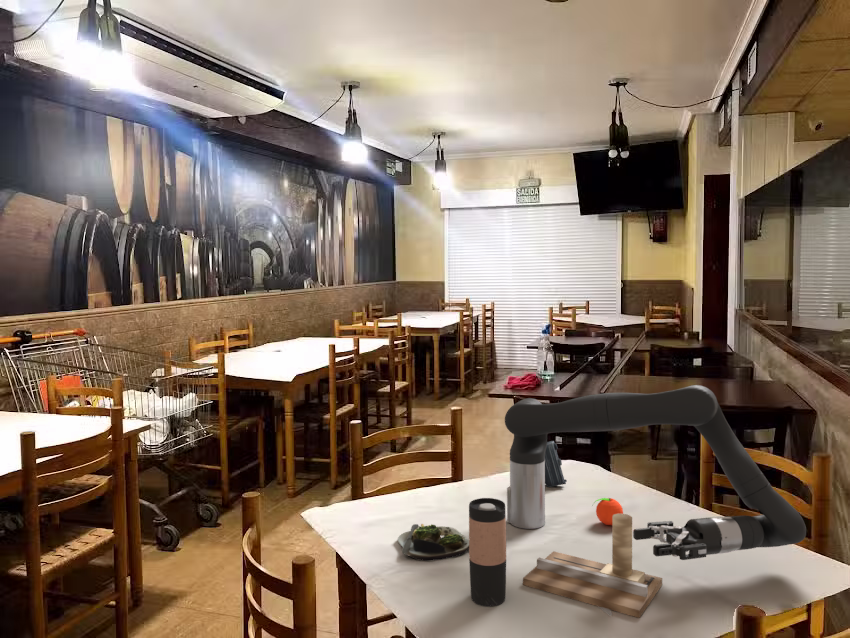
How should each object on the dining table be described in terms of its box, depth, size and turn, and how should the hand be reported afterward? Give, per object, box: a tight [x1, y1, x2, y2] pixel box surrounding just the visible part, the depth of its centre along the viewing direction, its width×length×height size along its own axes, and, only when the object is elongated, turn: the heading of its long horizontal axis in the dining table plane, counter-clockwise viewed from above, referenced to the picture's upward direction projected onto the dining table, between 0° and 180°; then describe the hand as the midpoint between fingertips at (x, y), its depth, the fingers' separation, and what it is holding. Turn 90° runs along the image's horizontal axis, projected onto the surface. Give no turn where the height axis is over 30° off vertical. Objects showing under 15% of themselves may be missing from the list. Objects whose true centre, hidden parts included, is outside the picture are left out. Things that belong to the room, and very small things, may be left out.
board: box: [522, 550, 663, 619], centre depth 141 cm, size 25×16×4 cm, turn 55°
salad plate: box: [397, 523, 469, 562], centre depth 164 cm, size 19×18×5 cm
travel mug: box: [468, 497, 507, 607], centre depth 136 cm, size 8×8×20 cm
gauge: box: [600, 513, 646, 584], centre depth 140 cm, size 8×6×14 cm
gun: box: [545, 440, 567, 488], centre depth 207 cm, size 3×17×15 cm
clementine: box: [591, 497, 624, 526], centre depth 174 cm, size 8×7×7 cm
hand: (643, 542), depth 140 cm, fingers open, 8 cm apart
